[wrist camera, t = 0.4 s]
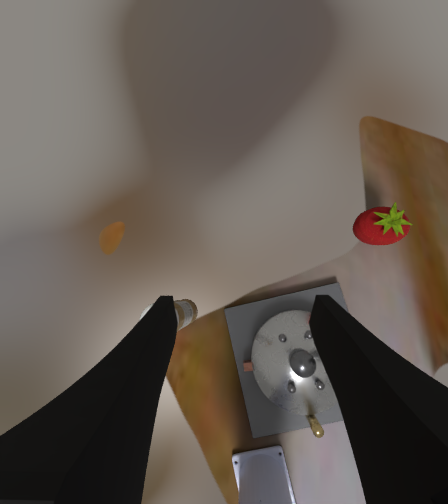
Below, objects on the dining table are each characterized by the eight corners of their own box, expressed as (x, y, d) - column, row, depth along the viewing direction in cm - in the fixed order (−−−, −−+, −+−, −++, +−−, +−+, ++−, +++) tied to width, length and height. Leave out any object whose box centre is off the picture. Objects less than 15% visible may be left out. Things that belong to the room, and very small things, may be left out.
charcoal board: (378, 409, 34) (382, 412, 33) (252, 434, 35) (253, 438, 34) (336, 282, 38) (338, 282, 37) (224, 308, 39) (224, 309, 38)
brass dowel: (315, 419, 33) (325, 436, 29) (306, 421, 33) (315, 438, 29) (313, 409, 34) (322, 425, 30) (304, 411, 34) (311, 427, 30)
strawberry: (338, 219, 40) (369, 195, 30) (382, 219, 39) (429, 194, 29) (341, 251, 38) (373, 237, 29) (386, 251, 38) (435, 237, 28)
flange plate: (268, 428, 33) (273, 451, 28) (230, 333, 36) (228, 340, 32) (365, 387, 33) (386, 403, 28) (318, 295, 36) (330, 296, 31)
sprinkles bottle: (173, 300, 40) (137, 304, 27) (197, 297, 39) (173, 300, 26) (174, 326, 39) (138, 343, 26) (199, 324, 39) (175, 340, 25)
